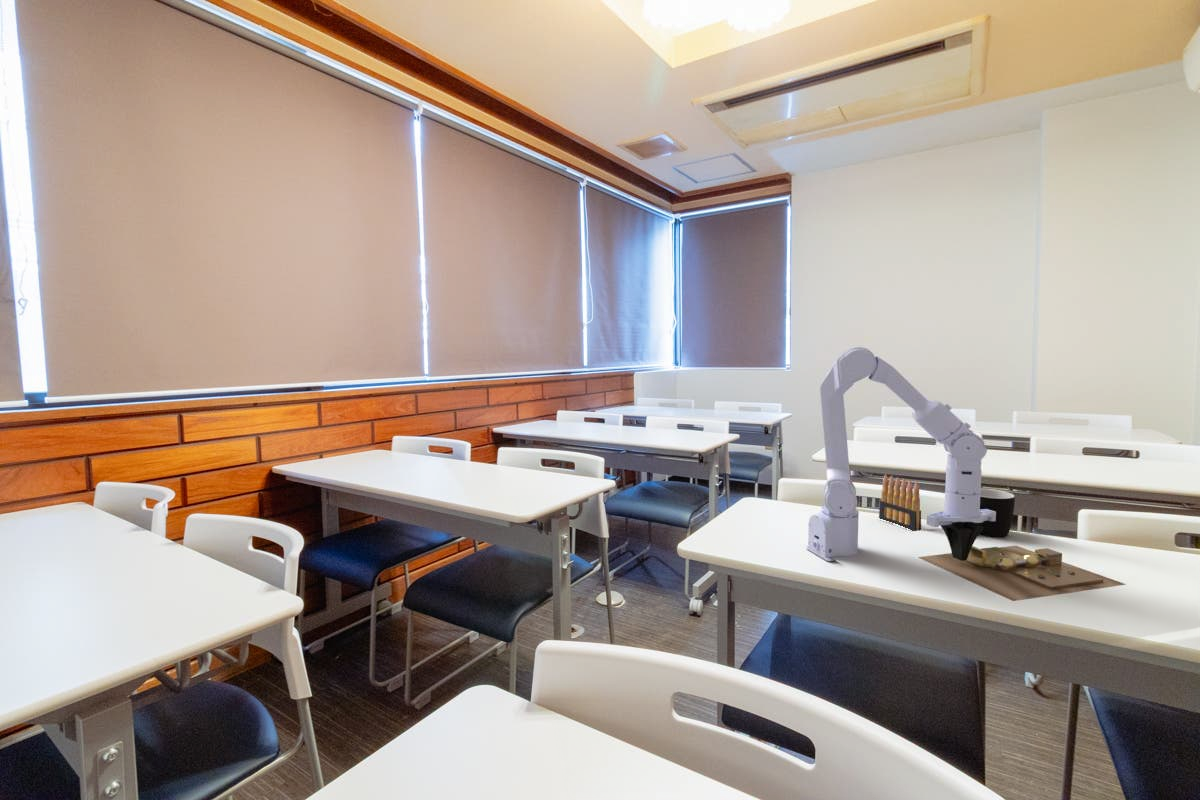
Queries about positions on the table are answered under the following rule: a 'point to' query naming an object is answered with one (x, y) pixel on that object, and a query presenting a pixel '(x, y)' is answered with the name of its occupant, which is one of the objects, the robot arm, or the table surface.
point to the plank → (1009, 576)
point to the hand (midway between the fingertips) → (959, 558)
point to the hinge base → (1055, 573)
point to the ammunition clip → (900, 504)
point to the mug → (997, 512)
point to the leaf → (1002, 558)
